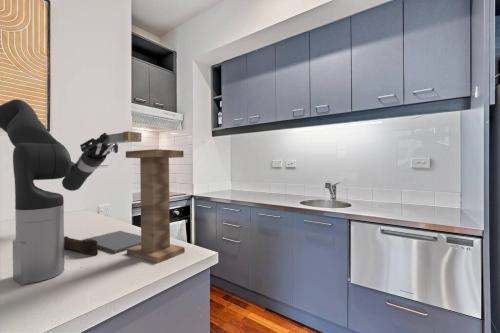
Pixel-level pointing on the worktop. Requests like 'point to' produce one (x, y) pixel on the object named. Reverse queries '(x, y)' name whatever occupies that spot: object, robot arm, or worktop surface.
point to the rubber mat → (117, 241)
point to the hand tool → (81, 245)
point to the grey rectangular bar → (123, 138)
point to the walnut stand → (155, 205)
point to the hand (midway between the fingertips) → (111, 135)
